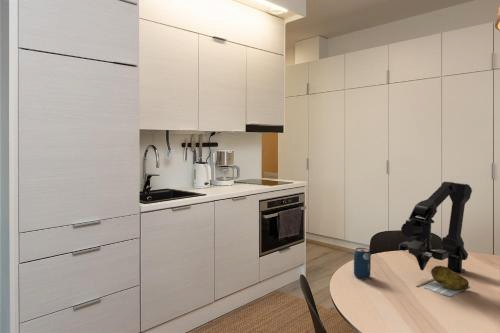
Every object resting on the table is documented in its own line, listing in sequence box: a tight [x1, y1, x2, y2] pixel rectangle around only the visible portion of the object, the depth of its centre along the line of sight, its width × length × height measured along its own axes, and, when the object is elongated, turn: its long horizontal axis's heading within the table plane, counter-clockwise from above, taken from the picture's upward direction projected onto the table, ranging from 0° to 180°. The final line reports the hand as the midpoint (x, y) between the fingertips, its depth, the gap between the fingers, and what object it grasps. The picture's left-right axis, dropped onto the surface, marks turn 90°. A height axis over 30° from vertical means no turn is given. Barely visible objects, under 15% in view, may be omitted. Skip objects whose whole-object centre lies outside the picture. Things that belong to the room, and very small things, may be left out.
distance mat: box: [423, 281, 470, 298], centre depth 147 cm, size 16×10×1 cm, turn 126°
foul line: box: [415, 277, 435, 288], centre depth 153 cm, size 18×1×1 cm, turn 126°
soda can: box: [353, 247, 372, 280], centre depth 158 cm, size 7×7×12 cm
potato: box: [430, 265, 470, 291], centre depth 146 cm, size 8×13×8 cm, turn 44°
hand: (422, 270), depth 155 cm, fingers closed
